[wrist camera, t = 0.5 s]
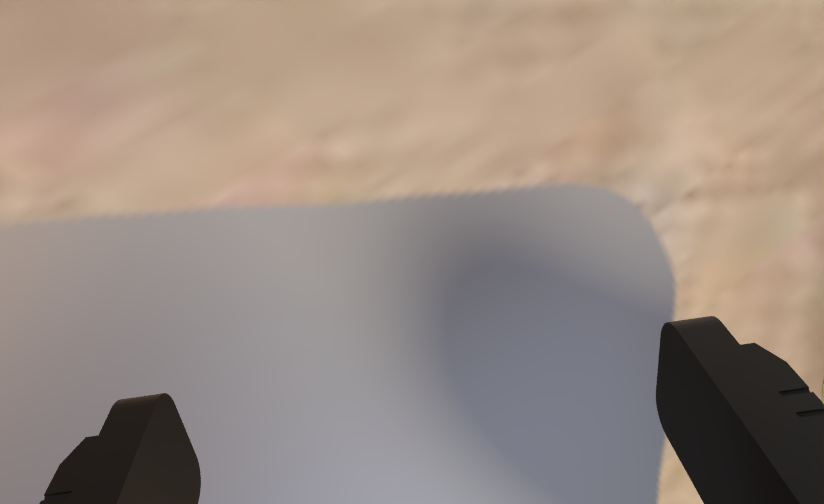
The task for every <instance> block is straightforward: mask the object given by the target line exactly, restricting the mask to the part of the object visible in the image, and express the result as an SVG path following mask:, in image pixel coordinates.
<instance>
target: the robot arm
mask: <svg viewBox="0 0 824 504" xmlns="http://www.w3.org/2000/svg"><path fill="white" fill-rule="evenodd" d="M656 404H657V410H658V415H659V418H660V422H661V424H662V427H663V430H664V432H665V434H666V436H667V437H668V439H669V441H670V443H671V445H672V447H673V448H674V450H675V452H676V454H677V456H678V457H679V459H680V461H681V463H682V465H683V466H684V468H685V470H686V472H687V474H688V475H689V477H690V479H691V481H692V483H693V484H694V486H695V488H696V490H697V492H698V494H699V495H700V497H701V499H702V501H703V503H704V504H824V404H823V403H822V401H821V400H820V399H819V398H818V397H817V396H816V395H815V394H814V392H811V393H810V391H809V387H808V386H807V385H806V383H805V382H804V381H803V380H802V379H801V378H800V377H799V376H798V374H797V373H796V372H795V371H794V370H793V369H792V368H791V367H790V365H789V364H788V363H787V362H785V361H784V360H782V359H780V358H779V357H777V356H776V355H774V354H772V353H771V352H769V351H767V350H766V349H764V348H762V347H761V346H759V345H757V344H756V343H750V344H743V345H740V344H739V343H738V342H737V341H736V339H735V338H734V337H733V336H732V334H731V333H730V332H729V331H728V330H727V328H726V327H725V326H724V325H723V324H722V322H721V321H720V320H719V319H717V318H716V317H714V316H709V317H702V318H695V319H688V320H681V321H674V322H667V323H665V324H664V325H663V327H662V331H661V338H660V351H659V363H658V374H657V386H656ZM200 487H201V477H200V468H199V463H198V459H197V457H196V454H195V452H194V449H193V447H192V444H191V442H190V439H189V437H188V435H187V432H186V430H185V427H184V425H183V423H182V420H181V418H180V416H179V413H178V411H177V408H176V406H175V403H174V401H173V400H172V398H171V397H170V396H169V395H168V394H166V393H163V394H156V395H149V396H143V397H136V398H129V399H121V400H118V401H117V402H115V404H114V405H113V406H112V408H111V410H110V413H109V414H108V417H107V419H106V421H105V423H104V425H103V427H102V429H101V431H100V434H99V436H92V437H86V438H85V439H84V440H83V441H82V442H81V443H80V444H79V445H78V446H77V447H76V448H75V449H74V450H73V451H72V453H70V455H69V456H68V457H67V458H66V459H65V460H64V461H63V462H62V463H61V464H60V465H59V467H58V469H57V471H56V473H55V475H54V477H53V479H52V481H51V483H50V484H49V487H48V488H47V490H46V492H45V495H44V496H45V499H44V501H41V502H40V504H198V500H199V496H200Z"/></svg>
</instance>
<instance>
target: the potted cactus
mask: <svg viewBox="0 0 824 504" xmlns="http://www.w3.org/2000/svg"><path fill="white" fill-rule="evenodd" d="M822 402H823V404H824V383H823V390H822Z"/></svg>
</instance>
